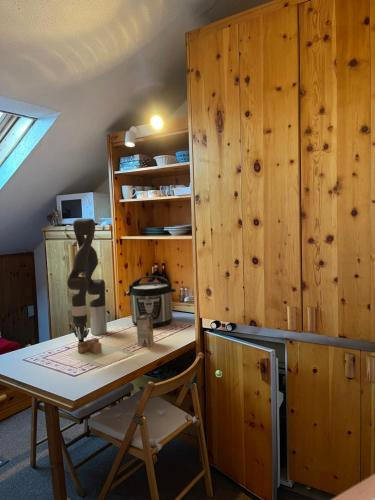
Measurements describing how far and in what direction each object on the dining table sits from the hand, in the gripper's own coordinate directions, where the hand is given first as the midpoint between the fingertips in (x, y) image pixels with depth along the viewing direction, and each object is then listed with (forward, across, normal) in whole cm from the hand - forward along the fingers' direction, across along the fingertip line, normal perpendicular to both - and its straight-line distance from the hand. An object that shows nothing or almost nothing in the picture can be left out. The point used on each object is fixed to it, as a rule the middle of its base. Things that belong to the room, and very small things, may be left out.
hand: (81, 345), depth 204 cm
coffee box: (+3, +23, +25) cm, 34 cm away
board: (+2, +16, 0) cm, 16 cm away
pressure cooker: (+3, -6, +59) cm, 59 cm away
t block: (+2, +10, 0) cm, 10 cm away
